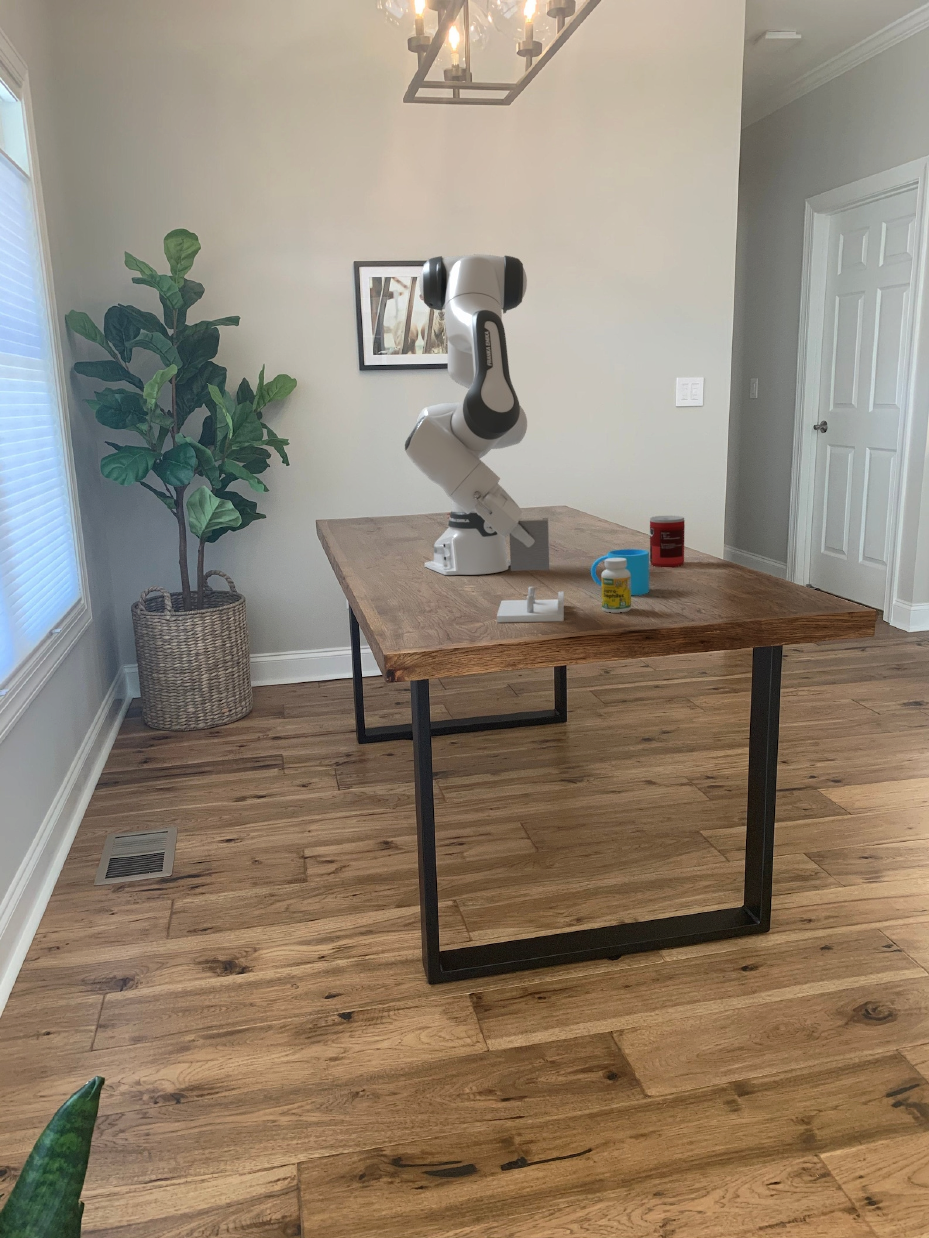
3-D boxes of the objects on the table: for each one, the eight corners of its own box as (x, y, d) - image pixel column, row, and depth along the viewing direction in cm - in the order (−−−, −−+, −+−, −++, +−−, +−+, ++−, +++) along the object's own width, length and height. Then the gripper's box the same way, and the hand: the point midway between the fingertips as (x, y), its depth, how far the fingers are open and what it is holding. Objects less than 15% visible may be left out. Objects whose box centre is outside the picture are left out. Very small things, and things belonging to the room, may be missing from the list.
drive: (510, 570, 169) (508, 520, 167) (512, 567, 173) (510, 518, 171) (549, 569, 168) (547, 519, 166) (549, 565, 172) (548, 516, 170)
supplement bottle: (633, 607, 173) (633, 557, 171) (627, 614, 169) (627, 562, 166) (605, 606, 175) (604, 556, 173) (598, 612, 171) (598, 561, 168)
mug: (653, 589, 189) (653, 549, 187) (642, 597, 182) (642, 556, 180) (597, 586, 194) (596, 548, 192) (584, 594, 187) (584, 554, 185)
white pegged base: (496, 622, 167) (495, 599, 166) (501, 606, 179) (501, 585, 178) (563, 621, 165) (563, 598, 164) (563, 605, 178) (563, 583, 177)
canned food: (662, 560, 220) (662, 514, 217) (691, 564, 214) (691, 516, 212) (642, 565, 215) (642, 518, 212) (671, 569, 209) (671, 520, 207)
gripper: (484, 482, 157) (543, 537, 158) (493, 473, 177) (545, 522, 178) (459, 509, 159) (518, 563, 160) (471, 497, 179) (523, 546, 180)
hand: (532, 542), depth 169 cm, fingers closed on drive, 4 cm apart
